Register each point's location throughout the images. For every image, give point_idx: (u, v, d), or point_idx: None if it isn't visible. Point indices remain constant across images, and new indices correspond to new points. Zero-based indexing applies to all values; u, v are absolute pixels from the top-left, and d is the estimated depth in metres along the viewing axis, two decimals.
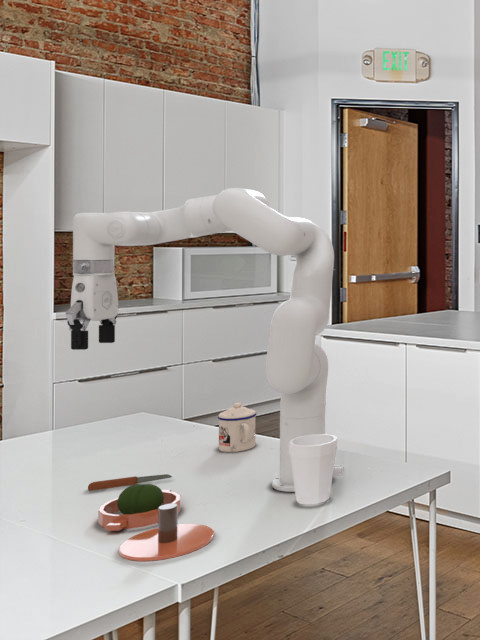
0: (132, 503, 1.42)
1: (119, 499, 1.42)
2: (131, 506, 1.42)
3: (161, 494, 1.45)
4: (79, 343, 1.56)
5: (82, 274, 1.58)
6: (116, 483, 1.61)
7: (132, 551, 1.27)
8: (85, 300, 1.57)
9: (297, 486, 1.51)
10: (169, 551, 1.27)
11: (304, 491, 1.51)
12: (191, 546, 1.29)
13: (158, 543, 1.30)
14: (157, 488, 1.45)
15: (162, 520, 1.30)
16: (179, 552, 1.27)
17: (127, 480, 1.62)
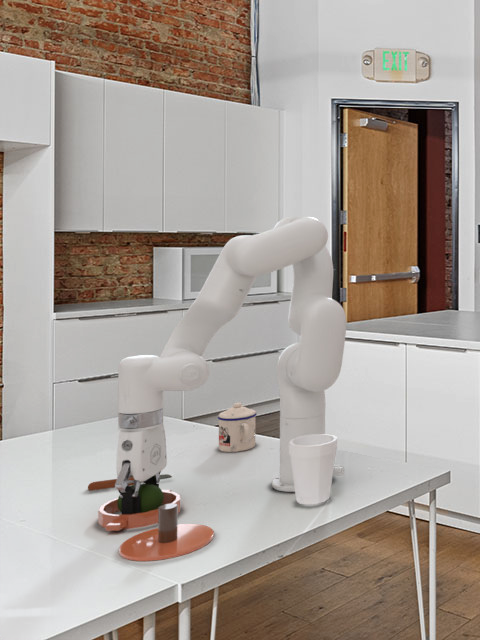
0: None
1: (119, 499, 1.42)
2: None
3: (161, 494, 1.45)
4: (131, 511, 1.40)
5: (129, 429, 1.41)
6: None
7: (132, 551, 1.27)
8: (133, 460, 1.40)
9: (297, 486, 1.51)
10: (169, 551, 1.27)
11: (304, 491, 1.51)
12: (191, 546, 1.29)
13: (158, 543, 1.30)
14: (157, 488, 1.45)
15: (162, 520, 1.30)
16: (179, 552, 1.27)
17: None
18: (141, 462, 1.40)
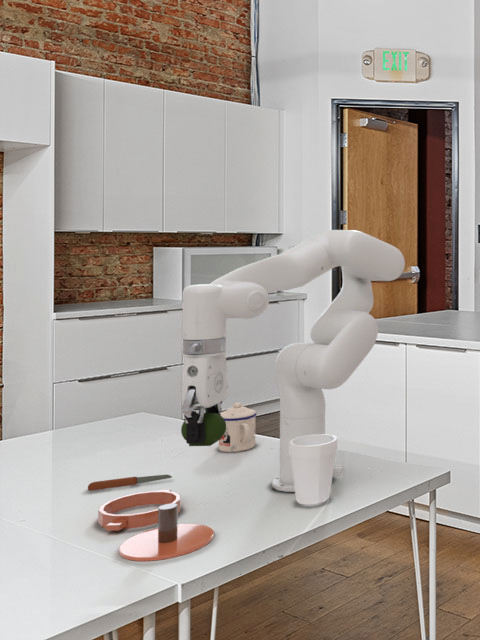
0: None
1: (183, 426, 1.42)
2: None
3: (224, 422, 1.45)
4: (196, 437, 1.40)
5: (194, 356, 1.41)
6: (116, 483, 1.61)
7: (132, 551, 1.27)
8: (198, 385, 1.40)
9: (297, 486, 1.51)
10: (169, 551, 1.27)
11: (304, 491, 1.51)
12: (191, 546, 1.29)
13: (158, 543, 1.30)
14: (220, 416, 1.45)
15: (162, 520, 1.30)
16: (179, 552, 1.27)
17: (127, 480, 1.62)
18: (206, 388, 1.40)
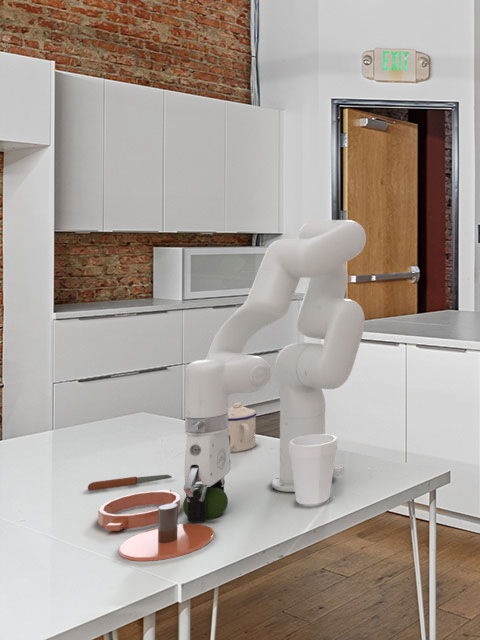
0: None
1: (185, 502, 1.42)
2: None
3: (226, 497, 1.45)
4: (197, 515, 1.40)
5: (197, 434, 1.41)
6: (116, 483, 1.61)
7: (132, 551, 1.27)
8: (201, 464, 1.40)
9: (297, 486, 1.51)
10: (169, 551, 1.27)
11: (304, 491, 1.51)
12: (191, 546, 1.29)
13: (158, 543, 1.30)
14: (222, 491, 1.45)
15: (162, 520, 1.30)
16: (179, 552, 1.27)
17: (127, 480, 1.62)
18: (209, 467, 1.40)
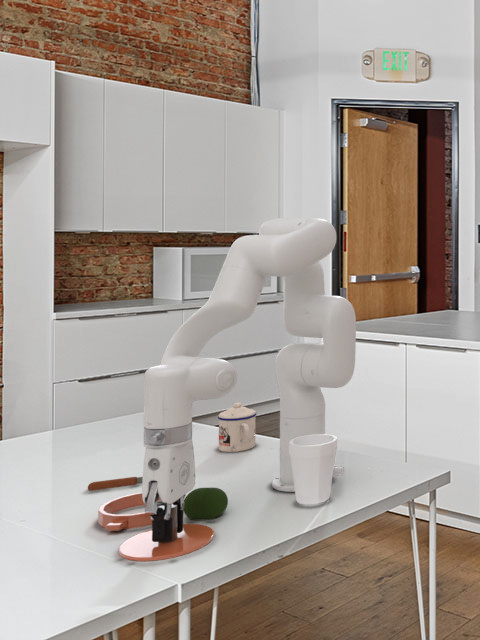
0: (198, 507, 1.42)
1: (185, 502, 1.42)
2: (197, 509, 1.42)
3: (226, 497, 1.45)
4: (162, 535, 1.29)
5: (156, 446, 1.28)
6: (116, 483, 1.61)
7: (132, 551, 1.27)
8: (160, 480, 1.27)
9: (297, 486, 1.51)
10: (169, 551, 1.27)
11: (304, 491, 1.51)
12: (191, 546, 1.29)
13: (158, 543, 1.30)
14: (222, 491, 1.45)
15: None
16: (179, 552, 1.27)
17: (127, 480, 1.62)
18: (169, 482, 1.27)
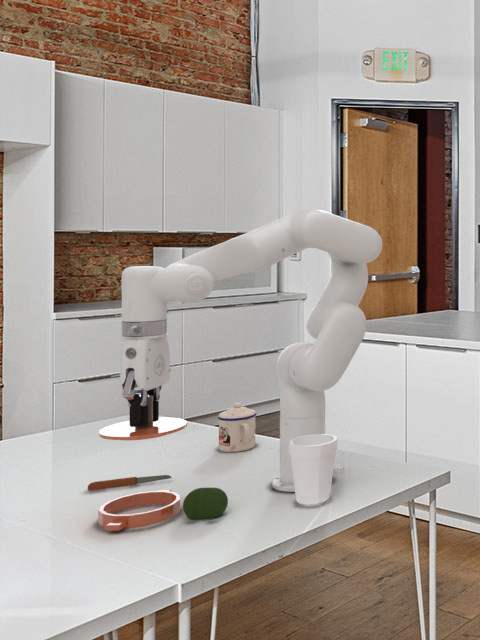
0: (198, 507, 1.42)
1: (185, 502, 1.42)
2: (197, 509, 1.42)
3: (226, 497, 1.45)
4: (139, 420, 1.40)
5: (133, 338, 1.39)
6: (116, 483, 1.61)
7: (110, 433, 1.38)
8: (137, 368, 1.38)
9: (297, 486, 1.51)
10: (145, 433, 1.38)
11: (304, 491, 1.51)
12: (165, 430, 1.40)
13: (135, 428, 1.41)
14: (222, 491, 1.45)
15: None
16: (154, 434, 1.38)
17: (127, 480, 1.62)
18: (145, 370, 1.39)
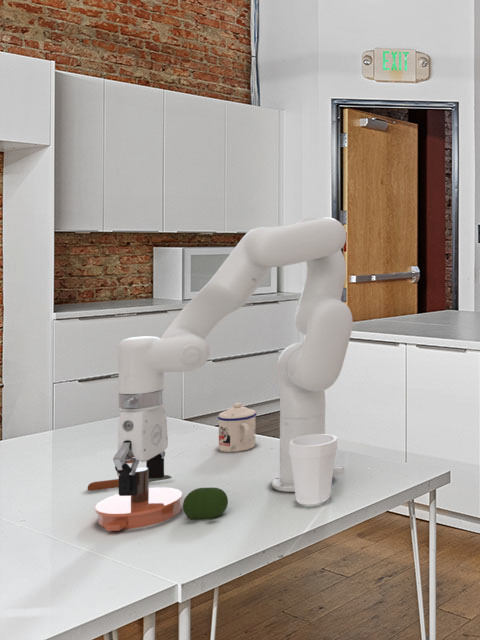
0: (198, 507, 1.42)
1: (185, 502, 1.42)
2: (197, 509, 1.41)
3: (226, 497, 1.45)
4: (128, 489, 1.39)
5: (130, 410, 1.41)
6: (116, 483, 1.61)
7: (106, 509, 1.40)
8: (134, 440, 1.40)
9: (297, 486, 1.51)
10: (140, 509, 1.40)
11: (304, 491, 1.51)
12: (160, 505, 1.42)
13: (131, 502, 1.43)
14: (222, 491, 1.45)
15: None
16: (149, 510, 1.39)
17: None
18: (142, 442, 1.40)
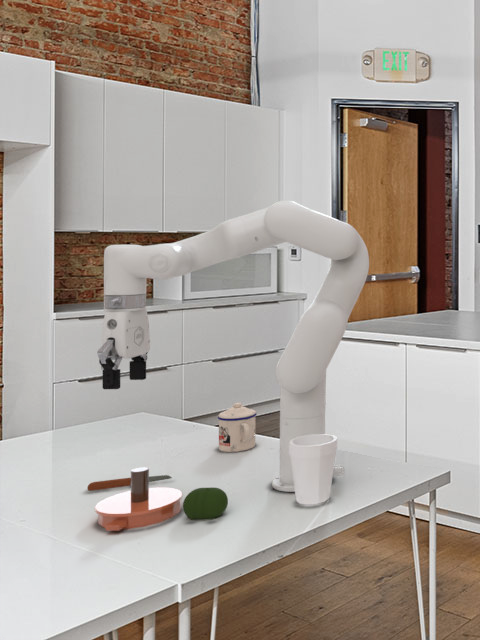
0: (198, 507, 1.42)
1: (185, 502, 1.42)
2: (197, 509, 1.42)
3: (226, 497, 1.45)
4: (111, 383, 1.49)
5: (114, 310, 1.51)
6: (116, 483, 1.61)
7: (106, 509, 1.40)
8: (117, 337, 1.50)
9: (297, 486, 1.51)
10: (140, 509, 1.40)
11: (304, 491, 1.51)
12: (160, 505, 1.42)
13: (131, 502, 1.43)
14: (222, 491, 1.45)
15: (134, 482, 1.43)
16: (149, 510, 1.39)
17: (127, 481, 1.62)
18: (125, 340, 1.50)
